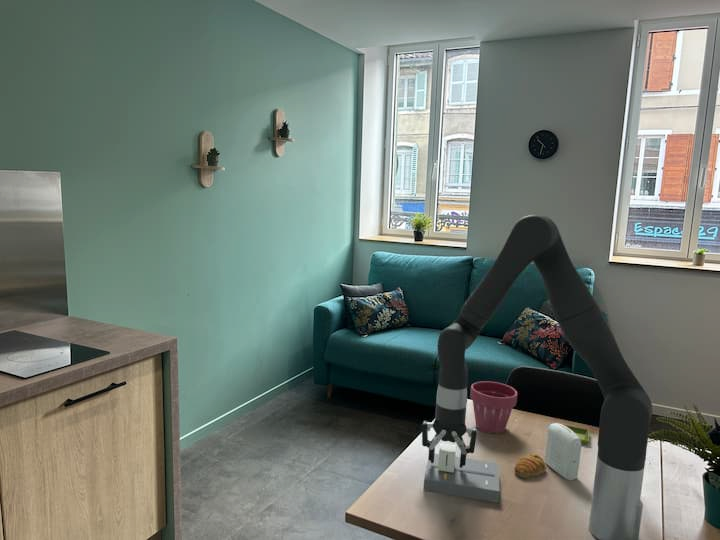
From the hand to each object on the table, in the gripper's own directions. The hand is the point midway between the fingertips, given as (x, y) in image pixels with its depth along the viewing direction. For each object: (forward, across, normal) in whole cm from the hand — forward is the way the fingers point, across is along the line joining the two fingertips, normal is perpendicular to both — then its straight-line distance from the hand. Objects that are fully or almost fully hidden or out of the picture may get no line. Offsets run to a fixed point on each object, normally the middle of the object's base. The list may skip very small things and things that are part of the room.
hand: (446, 463), depth 136 cm
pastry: (+5, +22, +11) cm, 25 cm away
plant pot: (+4, +12, +36) cm, 38 cm away
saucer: (+5, +37, +37) cm, 53 cm away
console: (+4, +4, 0) cm, 6 cm away
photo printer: (+4, +30, +14) cm, 33 cm away
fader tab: (+1, 0, 0) cm, 1 cm away
